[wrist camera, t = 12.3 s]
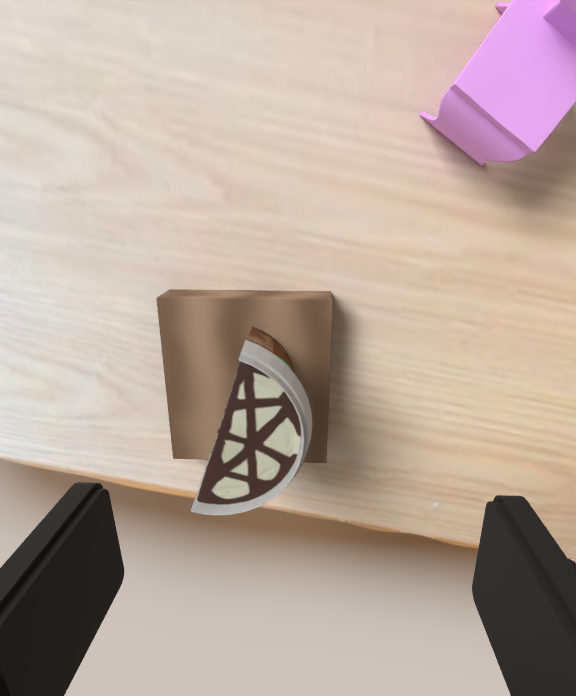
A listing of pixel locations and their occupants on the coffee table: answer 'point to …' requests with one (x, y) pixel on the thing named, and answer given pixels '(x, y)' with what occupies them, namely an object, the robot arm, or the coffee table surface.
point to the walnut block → (223, 357)
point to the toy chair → (513, 83)
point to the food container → (257, 432)
